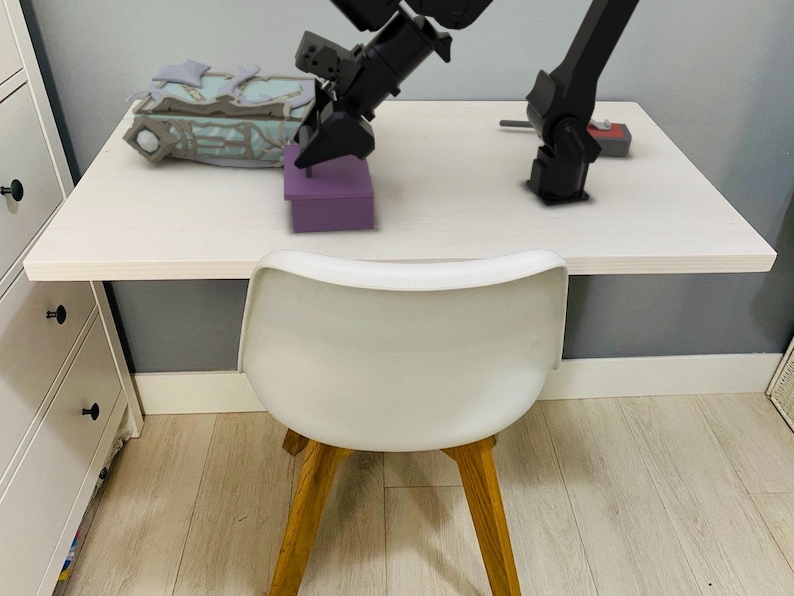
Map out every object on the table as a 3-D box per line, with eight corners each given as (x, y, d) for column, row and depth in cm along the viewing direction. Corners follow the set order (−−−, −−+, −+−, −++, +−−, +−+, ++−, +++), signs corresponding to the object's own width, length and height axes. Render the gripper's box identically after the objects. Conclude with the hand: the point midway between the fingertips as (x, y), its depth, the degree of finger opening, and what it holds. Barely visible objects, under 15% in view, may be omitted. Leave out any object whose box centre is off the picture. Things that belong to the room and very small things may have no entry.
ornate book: (122, 175, 91) (337, 180, 89) (102, 108, 85) (332, 112, 83) (176, 113, 109) (355, 116, 107) (162, 54, 103) (353, 56, 101)
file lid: (284, 200, 76) (280, 161, 73) (284, 150, 87) (281, 113, 84) (373, 197, 77) (373, 158, 74) (362, 147, 88) (362, 111, 85)
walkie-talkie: (623, 134, 105) (497, 128, 105) (630, 107, 102) (501, 101, 102) (636, 158, 98) (501, 152, 98) (644, 130, 95) (505, 123, 96)
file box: (293, 232, 79) (291, 200, 76) (292, 179, 89) (290, 150, 87) (373, 228, 80) (373, 197, 77) (363, 177, 91) (362, 148, 88)
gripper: (331, -13, 78) (246, 81, 83) (341, 33, 63) (238, 143, 68) (395, 53, 83) (312, 138, 89) (418, 110, 69) (317, 206, 74)
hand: (296, 153), depth 80 cm, fingers open, 7 cm apart
